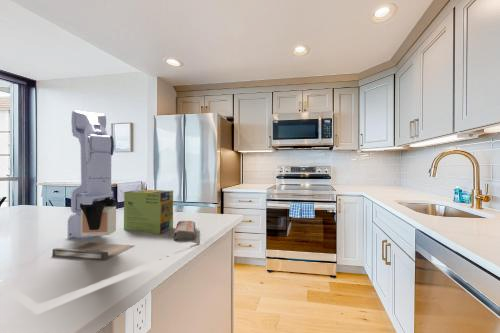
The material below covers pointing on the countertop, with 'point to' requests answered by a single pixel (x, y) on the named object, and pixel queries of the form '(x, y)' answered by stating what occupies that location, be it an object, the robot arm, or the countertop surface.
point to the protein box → (148, 210)
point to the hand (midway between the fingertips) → (99, 226)
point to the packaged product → (185, 232)
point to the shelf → (92, 251)
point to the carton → (105, 226)
